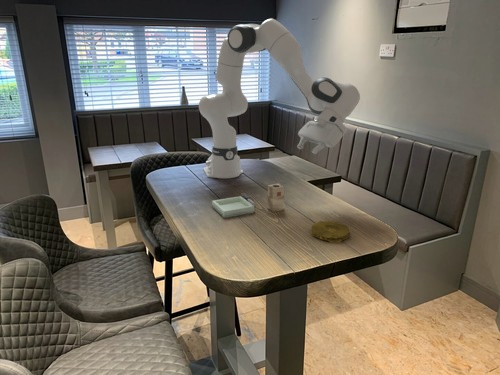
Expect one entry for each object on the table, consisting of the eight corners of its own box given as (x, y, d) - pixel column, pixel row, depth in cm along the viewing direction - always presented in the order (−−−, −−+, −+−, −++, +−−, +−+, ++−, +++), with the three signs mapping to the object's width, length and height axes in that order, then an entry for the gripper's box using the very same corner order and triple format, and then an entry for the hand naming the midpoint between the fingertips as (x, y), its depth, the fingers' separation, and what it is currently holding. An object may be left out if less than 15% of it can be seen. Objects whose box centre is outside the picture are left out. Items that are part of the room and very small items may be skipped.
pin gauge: (240, 198, 153) (240, 193, 153) (244, 197, 154) (244, 193, 154) (252, 206, 144) (252, 202, 144) (256, 206, 145) (256, 201, 144)
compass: (336, 247, 113) (337, 240, 113) (304, 235, 121) (304, 229, 120) (356, 234, 122) (356, 228, 121) (324, 224, 129) (324, 218, 129)
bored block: (267, 207, 143) (267, 184, 140) (277, 205, 145) (278, 183, 142) (273, 211, 139) (273, 188, 136) (283, 209, 141) (284, 186, 138)
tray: (212, 206, 144) (212, 200, 143) (240, 202, 149) (240, 196, 148) (224, 218, 133) (223, 211, 133) (254, 212, 138) (254, 206, 138)
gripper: (308, 113, 149) (286, 140, 148) (341, 119, 131) (317, 150, 130) (317, 124, 152) (295, 150, 151) (350, 131, 134) (326, 161, 133)
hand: (305, 150), depth 140 cm, fingers open, 8 cm apart
